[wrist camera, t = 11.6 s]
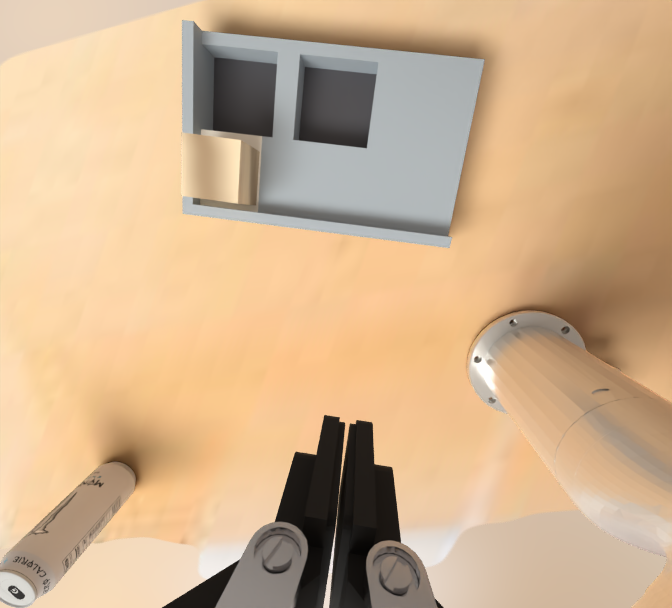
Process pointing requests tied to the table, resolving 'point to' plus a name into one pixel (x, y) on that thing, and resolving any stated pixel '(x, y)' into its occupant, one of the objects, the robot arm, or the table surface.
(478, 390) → the robot arm
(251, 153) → the maple cube
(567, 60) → the table surface
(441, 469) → the table surface
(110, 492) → the energy drink can
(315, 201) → the board
